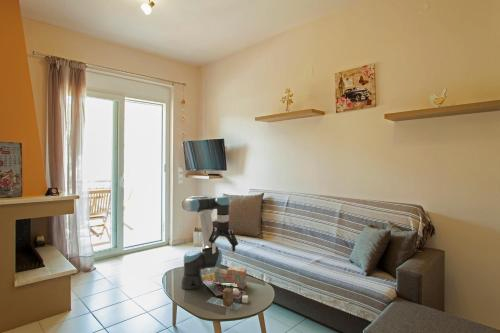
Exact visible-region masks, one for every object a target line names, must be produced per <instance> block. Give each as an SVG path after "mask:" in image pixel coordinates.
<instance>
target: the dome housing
mask: <svg viewBox="0 0 500 333" xmlns="http://www.w3.org/2000/svg"><path fill="white" fill-rule="evenodd" d="M238 290H239V291H240V292H241V295H240V296H239V297H234V296H233V302H234V303H238V304H240V303H241V302H242V297H243V295H247V291H244V290H240V289H238Z"/></svg>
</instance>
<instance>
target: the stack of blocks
mask: <svg viewBox="0 0 500 333" xmlns="http://www.w3.org/2000/svg"><path fill="white" fill-rule="evenodd" d="M215 282H219V283H235V284H237V286H238V287H239V288H238V289H241V288H242V290H243V289H245V288H244V287H246V286H247V268H245V267H240V266H228V268H227V269H223V268H222V269H221V268H217V270H216V271H214V283H215Z"/></svg>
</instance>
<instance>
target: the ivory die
mask: <svg viewBox="0 0 500 333" xmlns="http://www.w3.org/2000/svg"><path fill="white" fill-rule="evenodd" d="M248 302H249V295H247V294H246V295H243V297H242V300H241V303H246V304H248Z"/></svg>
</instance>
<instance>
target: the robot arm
mask: <svg viewBox="0 0 500 333" xmlns="http://www.w3.org/2000/svg"><path fill="white" fill-rule="evenodd" d="M181 207H182V209H183V210H184V211H186V212H191V213H192V212H197V215H198V216H199V219H200V226H201V235H202V243H203V248H202V249H201V250H200V249H192V250H189V251H187V252H186V253H184V255H183V276H182V280H181V282H180V283H181V288H182V289H184V290H187V291H192V290H197V289H200V288H202V287H203V286H204V280H203V276H202V273H201V272H202V271H201V270H207V269H212V268H213V269H215V268H218V267H220V266H221V264H222V261H223V254H222V249H219V246H218V245H216V241H217V240H218V238H219V236H220V237H225V238H226V239H227V241H228V242H229V244H230V245H231V246H230V257H231V258H233V257H235V251H236V247H237V246H238V245H239V243H238V240H237V237H236V236H235V232H234V229H230V222H229V221H230V197H229V196H227V195H219V196H214V197H212V196H211V195H195V196H188V197H186V198H184V199H183V200H182V202H181ZM214 210H216V226H215V227H214V226H213V225H214V224H213V218H212V214H213V211H214ZM216 232H217V233H216Z"/></svg>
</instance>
